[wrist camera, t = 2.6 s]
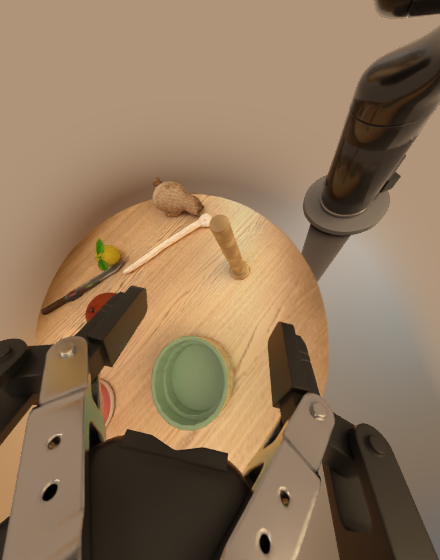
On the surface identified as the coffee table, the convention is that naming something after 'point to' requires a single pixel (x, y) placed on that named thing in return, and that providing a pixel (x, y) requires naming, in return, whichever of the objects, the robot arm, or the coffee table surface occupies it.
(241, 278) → the stick
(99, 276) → the knife
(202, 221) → the cream knobbed rod
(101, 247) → the lemon
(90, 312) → the fruit
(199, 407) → the bowl
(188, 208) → the figurine
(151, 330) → the coffee table surface
